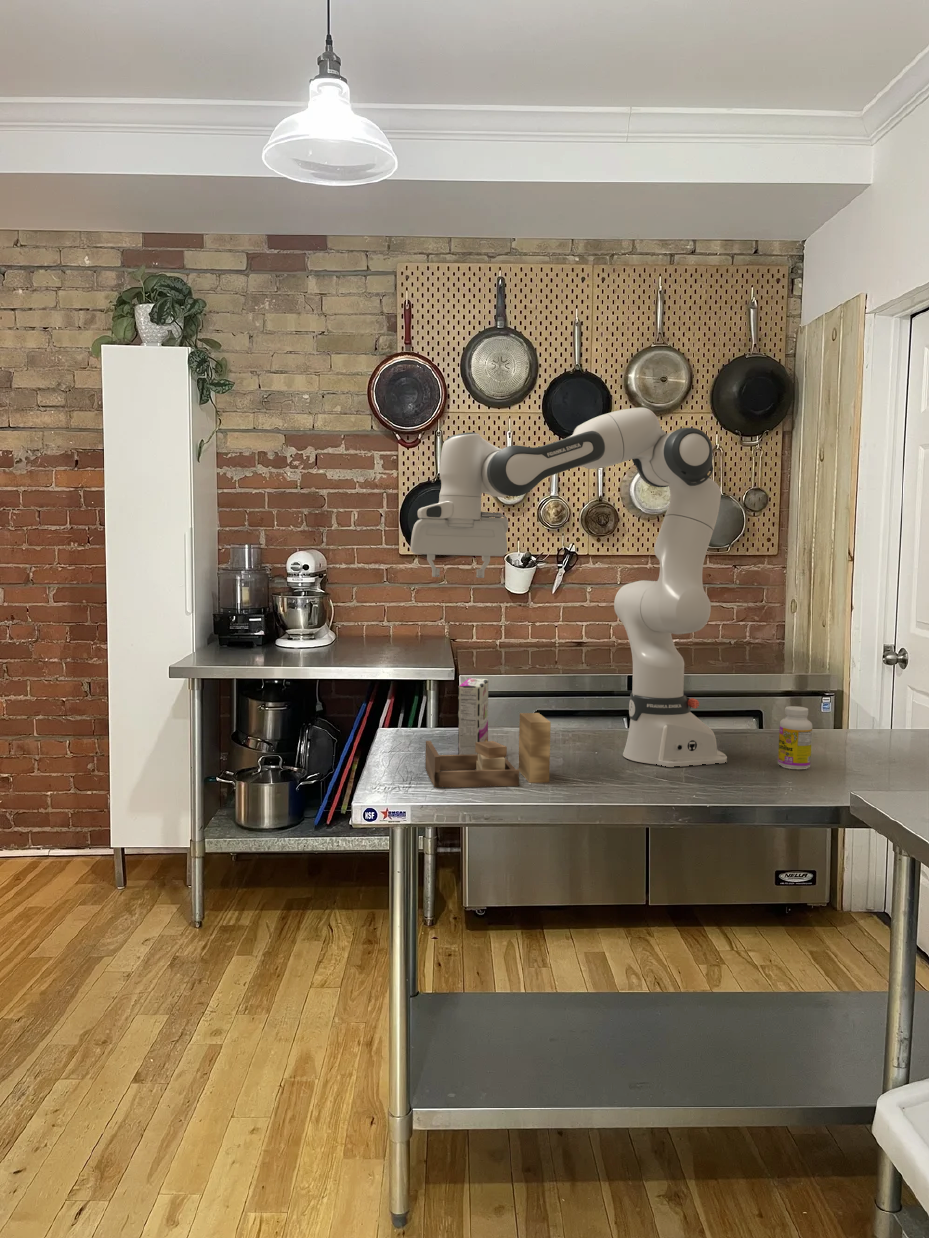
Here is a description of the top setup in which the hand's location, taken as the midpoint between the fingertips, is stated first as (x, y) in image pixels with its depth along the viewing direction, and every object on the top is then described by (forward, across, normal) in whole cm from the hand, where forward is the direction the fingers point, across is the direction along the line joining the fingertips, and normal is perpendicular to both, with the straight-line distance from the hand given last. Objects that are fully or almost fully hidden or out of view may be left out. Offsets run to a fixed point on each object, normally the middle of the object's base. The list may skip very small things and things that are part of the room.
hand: (458, 577), depth 200 cm
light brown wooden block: (+39, -14, +13) cm, 44 cm away
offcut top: (+35, -6, +13) cm, 38 cm away
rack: (+40, -1, +13) cm, 42 cm away
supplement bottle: (+39, -72, +11) cm, 83 cm away
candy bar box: (+40, -5, -6) cm, 40 cm away
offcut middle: (+38, -6, +13) cm, 40 cm away
